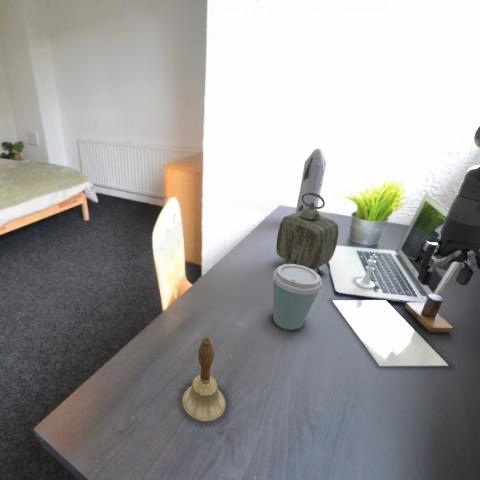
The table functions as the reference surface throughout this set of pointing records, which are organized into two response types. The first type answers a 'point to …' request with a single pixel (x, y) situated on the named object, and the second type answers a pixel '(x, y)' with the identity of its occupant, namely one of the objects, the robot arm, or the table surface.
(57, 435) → the table surface
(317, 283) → the disposable coffee cup
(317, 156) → the rocket model
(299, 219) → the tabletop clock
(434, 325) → the stamp
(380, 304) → the tile
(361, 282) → the chess piece
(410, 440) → the table surface
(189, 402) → the hand bell
